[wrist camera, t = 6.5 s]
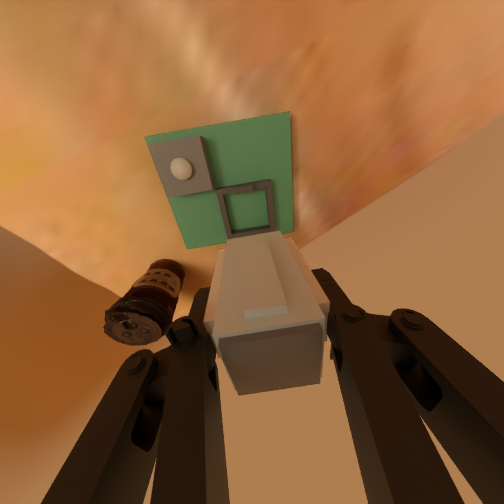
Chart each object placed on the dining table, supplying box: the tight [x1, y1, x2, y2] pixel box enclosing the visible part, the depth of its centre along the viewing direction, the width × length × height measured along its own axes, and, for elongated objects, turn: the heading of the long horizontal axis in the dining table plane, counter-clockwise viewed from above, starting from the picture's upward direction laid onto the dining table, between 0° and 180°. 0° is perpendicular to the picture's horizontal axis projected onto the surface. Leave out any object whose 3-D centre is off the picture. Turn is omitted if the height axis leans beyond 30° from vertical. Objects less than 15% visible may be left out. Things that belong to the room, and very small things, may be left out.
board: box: [145, 111, 294, 249], centre depth 25 cm, size 16×18×5 cm
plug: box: [212, 231, 325, 395], centre depth 10 cm, size 4×4×8 cm
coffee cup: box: [104, 259, 185, 346], centre depth 29 cm, size 9×8×13 cm
